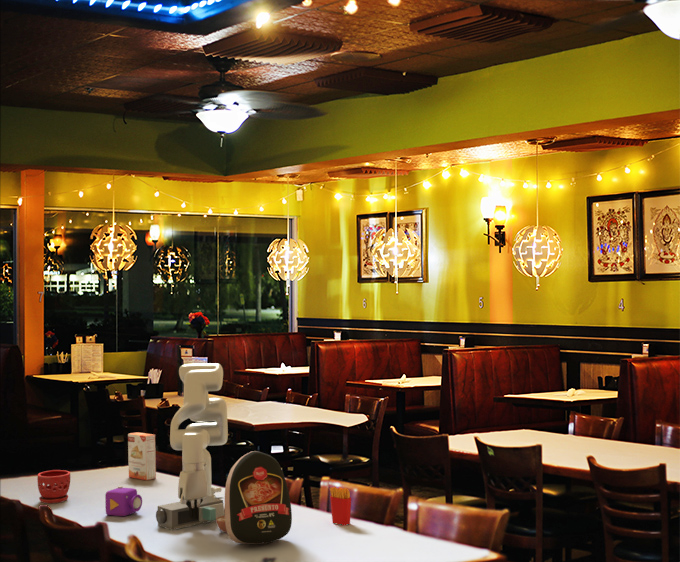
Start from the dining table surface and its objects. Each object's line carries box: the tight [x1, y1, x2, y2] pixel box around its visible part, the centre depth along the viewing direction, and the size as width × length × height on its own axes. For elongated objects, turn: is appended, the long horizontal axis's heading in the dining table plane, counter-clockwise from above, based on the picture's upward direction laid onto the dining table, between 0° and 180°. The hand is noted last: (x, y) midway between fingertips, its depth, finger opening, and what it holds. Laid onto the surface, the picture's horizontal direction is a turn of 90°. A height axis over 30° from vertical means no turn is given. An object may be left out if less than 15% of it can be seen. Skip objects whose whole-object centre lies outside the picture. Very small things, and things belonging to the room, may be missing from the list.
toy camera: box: [104, 485, 143, 517], centre depth 333 cm, size 11×14×10 cm
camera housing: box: [155, 496, 224, 531], centre depth 317 cm, size 24×11×7 cm, turn 132°
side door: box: [199, 502, 225, 522], centre depth 315 cm, size 10×6×5 cm, turn 132°
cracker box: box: [127, 431, 157, 481], centre depth 405 cm, size 14×6×21 cm, turn 49°
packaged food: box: [224, 450, 293, 545], centre depth 288 cm, size 22×20×30 cm
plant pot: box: [37, 469, 71, 504], centre depth 358 cm, size 13×13×12 cm
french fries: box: [329, 486, 352, 526], centre depth 311 cm, size 9×4×13 cm, turn 47°
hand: (193, 518), depth 308 cm, fingers closed
